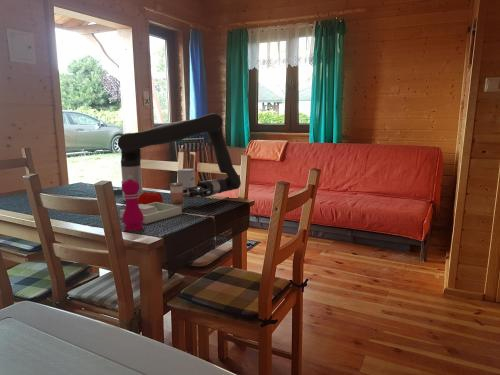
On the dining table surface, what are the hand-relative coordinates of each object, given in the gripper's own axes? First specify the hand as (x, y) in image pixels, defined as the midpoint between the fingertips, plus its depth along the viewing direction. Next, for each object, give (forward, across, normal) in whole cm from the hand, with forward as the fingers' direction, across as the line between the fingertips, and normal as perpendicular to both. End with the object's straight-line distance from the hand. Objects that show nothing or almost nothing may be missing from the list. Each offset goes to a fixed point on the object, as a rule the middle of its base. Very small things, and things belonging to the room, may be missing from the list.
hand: (183, 193), depth 163 cm
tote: (+18, 0, +7) cm, 19 cm away
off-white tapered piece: (+22, 0, +6) cm, 22 cm away
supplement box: (-30, -29, +7) cm, 42 cm away
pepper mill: (+33, +9, +7) cm, 35 cm away
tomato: (+4, -17, +7) cm, 19 cm away
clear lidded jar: (+4, 0, +7) cm, 8 cm away
